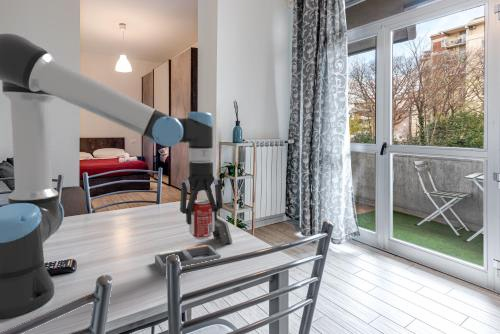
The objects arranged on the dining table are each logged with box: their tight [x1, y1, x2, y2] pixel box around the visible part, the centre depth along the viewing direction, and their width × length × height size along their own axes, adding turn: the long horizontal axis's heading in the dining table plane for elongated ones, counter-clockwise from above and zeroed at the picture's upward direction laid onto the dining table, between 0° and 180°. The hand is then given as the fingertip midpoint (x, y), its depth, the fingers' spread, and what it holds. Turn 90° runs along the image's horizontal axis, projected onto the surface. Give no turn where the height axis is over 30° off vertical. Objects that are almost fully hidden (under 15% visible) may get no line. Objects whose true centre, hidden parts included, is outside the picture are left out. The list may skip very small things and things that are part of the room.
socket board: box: [154, 244, 221, 276], centre depth 100 cm, size 19×9×3 cm, turn 118°
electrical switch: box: [212, 215, 233, 246], centre depth 118 cm, size 9×5×9 cm, turn 32°
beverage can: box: [192, 199, 213, 241], centre depth 100 cm, size 6×6×12 cm
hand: (202, 231), depth 101 cm, fingers closed on beverage can, 6 cm apart
